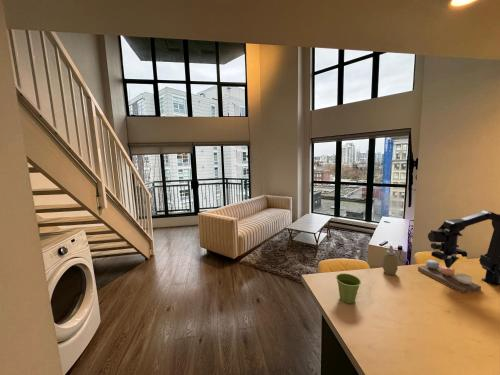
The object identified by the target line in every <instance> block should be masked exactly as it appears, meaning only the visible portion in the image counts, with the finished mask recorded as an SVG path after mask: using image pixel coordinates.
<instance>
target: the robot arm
mask: <svg viewBox="0 0 500 375" xmlns="http://www.w3.org/2000/svg"><path fill="white" fill-rule="evenodd" d="M487 220H490V221H491V226H492V229H493V231H492V234H491V238H490V242H489V245H488V249H487V252H486V253H485V254H481V255H480V258H479V259H478V261H479V264H480V265H481V268H482V269H483V270H486V271H485V276H484V278H481V281H484V282H486V283H488V284H490V285H493V286H495V287H498V286H500V213H499V214H498V213H495V212H493V211H489V210H481V211H480V212H477V213H474V214H470V215H468V216H465V217H462V218H455V219H454V218H453V219H452V218H451V219H446V220H444V221H443V222H442V225H440V227H438V228H437V230H435V229H431V230H430V232H429V233H428V234H427V238H428V241H429V242H431V243H430V248H431V249H433V251H432V252H431V257H434V258H437V259H439V260H442V261H443V262H444V266H446V267H447V268H450V267H451V268H452V266H453V264H454V263H455V262H457V261H458V260H459V259H460V257H458V256H457V255H461V257H462V258H467V257H468V252H467V251H465V250H463V249H460V248H459V247H460V245H458V237H463V234H462V233H461V232H462V231H464V230H465V229H466V228H467V227H470V226H472V225H475V224H478V223H481V222H484V221H487Z"/></svg>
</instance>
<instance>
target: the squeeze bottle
mask: <svg viewBox="0 0 500 375" xmlns="http://www.w3.org/2000/svg"><path fill="white" fill-rule="evenodd" d="M385 251H386V252H385V253H384V255H383V261H382V269H383V272H384V273H385V274H387V275H389V276H395V275H396V273H397V272H398V270H399V269H398V257H397V255H396V251H395V250H394V248H393V245H389V248H388V249H387V250H385Z"/></svg>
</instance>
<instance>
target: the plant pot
mask: <svg viewBox="0 0 500 375" xmlns="http://www.w3.org/2000/svg"><path fill="white" fill-rule="evenodd" d="M335 279H336V281H337V287H338V294H339V298H340V300H341V301H342V302H343V303H346V304H354V303H355V302H356V299H357V295H358V291H359V288H360V286H361V284H362V280H361V279H360V278H359V277H357V276H355V275H353V274H351V273H343V272H342V273H339V274H337V275H336V276H335Z"/></svg>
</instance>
